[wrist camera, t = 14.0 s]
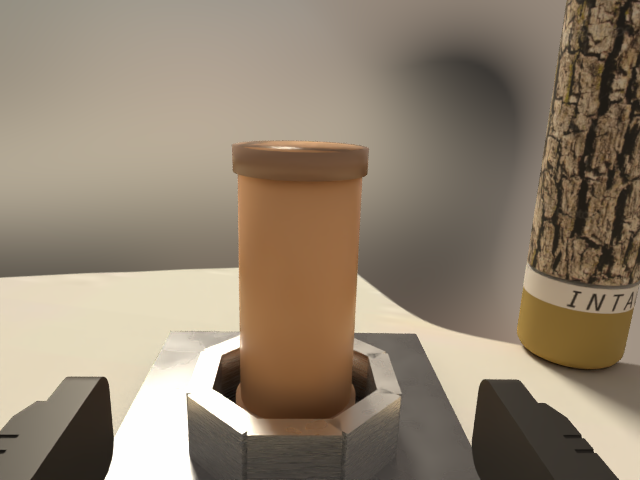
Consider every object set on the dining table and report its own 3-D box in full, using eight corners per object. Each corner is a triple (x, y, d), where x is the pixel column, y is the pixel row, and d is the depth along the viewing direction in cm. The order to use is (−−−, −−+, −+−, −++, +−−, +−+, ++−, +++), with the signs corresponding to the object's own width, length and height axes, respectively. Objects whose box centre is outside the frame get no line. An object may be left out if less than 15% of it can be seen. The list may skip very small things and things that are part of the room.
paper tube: (494, 336, 37) (548, -47, 31) (560, 321, 40) (622, -32, 33) (574, 383, 32) (663, -78, 25) (644, 362, 34) (741, -56, 28)
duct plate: (5, 698, 14) (-19, 572, 13) (171, 351, 34) (168, 287, 32) (561, 684, 15) (588, 565, 14) (414, 354, 34) (419, 291, 33)
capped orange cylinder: (229, 468, 21) (222, 150, 18) (243, 396, 26) (240, 139, 23) (359, 469, 21) (377, 154, 18) (348, 397, 27) (360, 142, 23)
